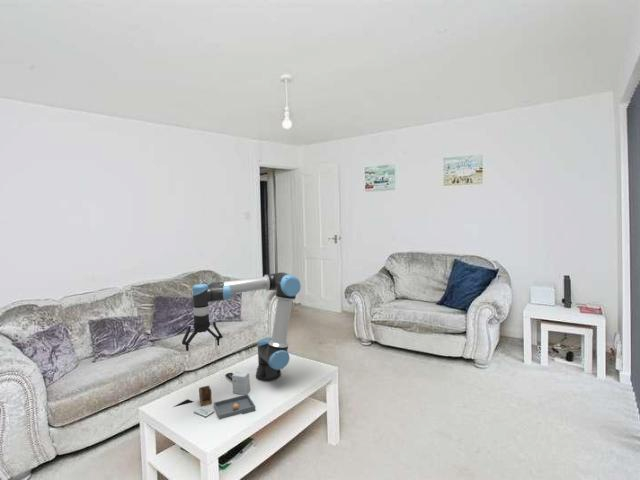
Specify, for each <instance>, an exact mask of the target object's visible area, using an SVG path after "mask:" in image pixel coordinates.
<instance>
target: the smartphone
mask: <svg viewBox="0 0 640 480" xmlns="http://www.w3.org/2000/svg"><path fill="white" fill-rule="evenodd" d="M193 403H195V401H193V400H190V399H185V400H183V401H181V402H179V403H178V404H176V405H174V406H173V408H176V407H178V406H179V407H180V406H184V405H188V404H193Z"/></svg>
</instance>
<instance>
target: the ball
mask: <svg viewBox="0 0 640 480" xmlns="http://www.w3.org/2000/svg"><path fill="white" fill-rule="evenodd" d="M238 408H239V405H238V404H236V403H235V404H234V405H233V409H234V410H237V409H238Z"/></svg>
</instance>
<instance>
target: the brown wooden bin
mask: <svg viewBox="0 0 640 480" xmlns="http://www.w3.org/2000/svg"><path fill="white" fill-rule="evenodd" d="M198 393H199V394H198V395H199V397H198V398H199V404H200V407H205V406H210V405H212V404H213V403H212V402H213V401H212V399H213V398H212V389H211V387H210V385H206V386H201V387H198Z"/></svg>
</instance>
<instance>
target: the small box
mask: <svg viewBox="0 0 640 480" xmlns="http://www.w3.org/2000/svg"><path fill="white" fill-rule="evenodd" d="M231 377H232V378H231V379H232V380H231V381H232V394H233V395H240V396H242V395H246V394H248V393H249V392H250V391H251V382H250V372H246V371H236V372H234V373H233V374H232V375H231Z"/></svg>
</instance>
